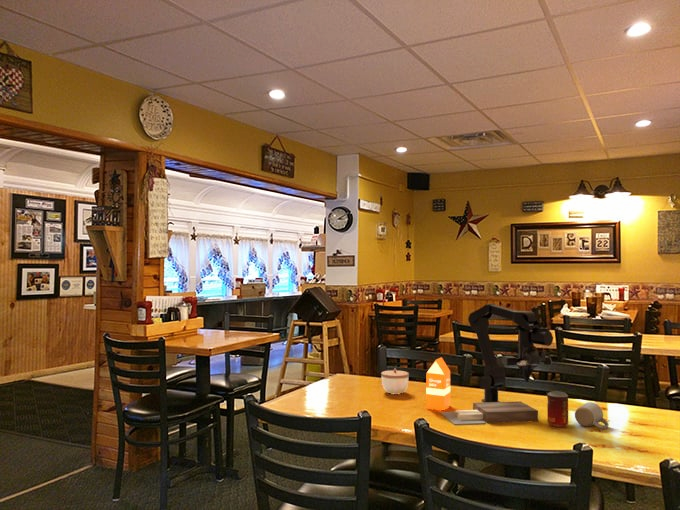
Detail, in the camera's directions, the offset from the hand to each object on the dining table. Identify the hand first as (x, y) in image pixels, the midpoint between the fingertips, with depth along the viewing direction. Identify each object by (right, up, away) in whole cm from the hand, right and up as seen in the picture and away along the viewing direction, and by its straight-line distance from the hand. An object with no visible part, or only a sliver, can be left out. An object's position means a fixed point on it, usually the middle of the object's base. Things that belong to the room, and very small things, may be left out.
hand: (526, 381), depth 215 cm
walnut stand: (-11, -12, -8) cm, 18 cm away
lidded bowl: (-50, -13, +32) cm, 60 cm away
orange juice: (-34, -12, +6) cm, 37 cm away
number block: (-26, -11, -10) cm, 30 cm away
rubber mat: (-28, -12, -10) cm, 32 cm away
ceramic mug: (+18, -12, -18) cm, 28 cm away
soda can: (+5, -12, -20) cm, 23 cm away
